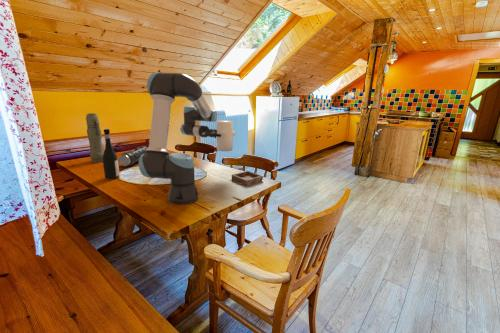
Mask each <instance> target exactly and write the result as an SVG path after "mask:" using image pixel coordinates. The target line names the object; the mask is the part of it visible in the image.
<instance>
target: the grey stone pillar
mask: <svg viewBox="0 0 500 333" xmlns="http://www.w3.org/2000/svg"><path fill="white" fill-rule="evenodd" d="M85 116H86V117H85V120H86V121H85V122H86V125H87V126H86V128H87V130H86V134H87V135H86V136H87V140H88V142H89V156H90V160H91V161H90V162H91V163H96V164H98V163H103V155H104V149H103V142H102V138H103V136H102V135H103V134H102V130H101V128H100V121H99V116H98V115H97V113H93V112H92V113H87V114H86V115H85Z"/></svg>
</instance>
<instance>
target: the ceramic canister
mask: <svg viewBox="0 0 500 333" xmlns="http://www.w3.org/2000/svg"><path fill="white" fill-rule="evenodd" d="M216 129H217V133H224V134H226V138H220V137H217V136H216V151H218V152H232V151H233V144H234V143H233V141H234V140H233V137H234V136H233V131H234V121H232V120H216Z"/></svg>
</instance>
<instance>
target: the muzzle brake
mask: <svg viewBox="0 0 500 333" xmlns="http://www.w3.org/2000/svg"><path fill="white" fill-rule="evenodd" d="M147 148H148V147H147V146H146V145H142V146H140V147H137V148H134V149H132V150H129V151H127V152H126V151H125V152H122V153H121V154H120V155H119V157H118V164H119V165H121V166H123V167H131V166H133V165H134V164H135V163H139V158H140V156H141V155H142V154H145V150H146V149H147Z"/></svg>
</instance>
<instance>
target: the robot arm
mask: <svg viewBox="0 0 500 333" xmlns="http://www.w3.org/2000/svg"><path fill="white" fill-rule="evenodd" d="M146 82H147V83H146V88H147V92H148V94H149V95H150V99H151V100H152V101H153V104H152V111H151V112H152V114H151V124H150V133H149V143H148V147H147V149H146V150H145V154H142V155H141V156H140V158H139V161H138V169H139V171H140V173H141V175H142V176H143V177H146V178H151V179H164V180H165V179H166V180H170V187H169V190H168V195H167V198H168V199H167V200H168V202H169V203H171V204H174V205H189V204H192V203H195V202H196V201H198V199H199V191H198V189H197V187H196V185H195V161H194V157H193V156H192V155H190V154H188V153H184V152H172V153H170V151H169V150H168V149H167V148H168V140H169V139H168V138H169V130H170V128H169V127H170V118H171V110H172V104H173V103H174V102H175V99H176V98H178V97H180V98H186V99H187V100H188V101H190V102H191V104H192V105H186V106H184V107H183V123H182V124H181V126H180V132H181V134H182V135H185V136H193V137H197V138H199V137H200V138H207V137H208V138H209V137H210V138H214V139H217V137H220V138H226V134H224V133H217V128H214V129H213V128H209V126H208V125H200V124H196V122H209V123H212V122H213V123H215V122H217V121H218V112H217V111H216V110H215V109H211V107H210V105H209V103H208V102H207V100H206V98H205V97H204V95H203V90H202V87H201V86H200V84H199V83H198V81H196V80H195V79H194V78H192V77H191V76H189V75H188V74H185V73H181V72H162V71H159V72H152V73H151V74H150V75H149V76H148V78H147V81H146ZM175 97H176V98H175ZM233 137H236V131H234V130H233Z"/></svg>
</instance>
